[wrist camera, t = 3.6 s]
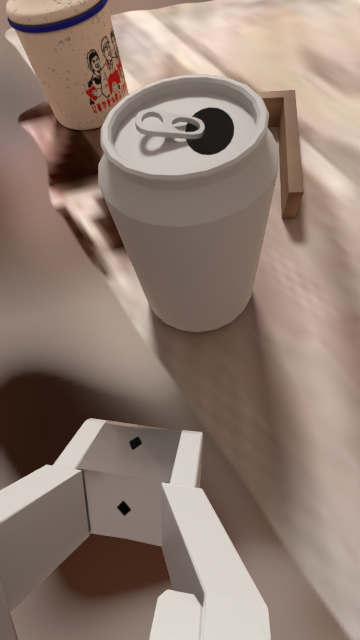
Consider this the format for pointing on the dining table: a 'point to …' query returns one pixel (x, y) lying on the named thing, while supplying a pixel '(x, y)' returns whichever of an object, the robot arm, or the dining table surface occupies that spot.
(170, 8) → the dining table surface
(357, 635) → the dining table surface
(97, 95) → the teacup with lid
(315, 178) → the dining table surface
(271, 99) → the frame
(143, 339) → the dining table surface
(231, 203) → the can
